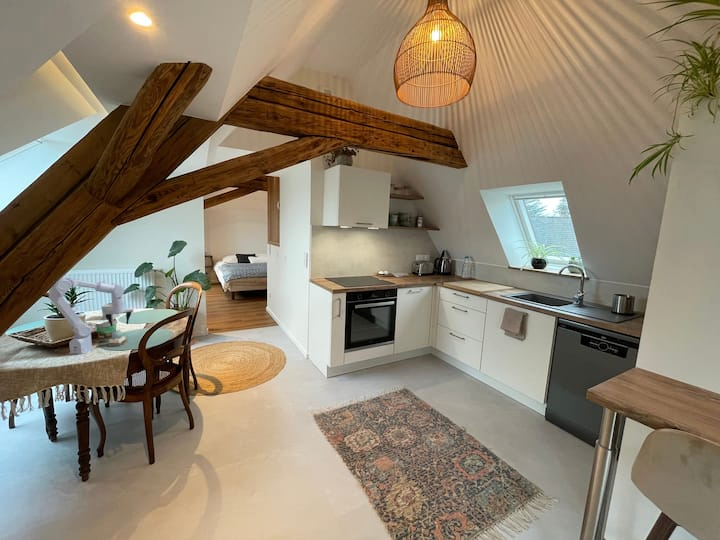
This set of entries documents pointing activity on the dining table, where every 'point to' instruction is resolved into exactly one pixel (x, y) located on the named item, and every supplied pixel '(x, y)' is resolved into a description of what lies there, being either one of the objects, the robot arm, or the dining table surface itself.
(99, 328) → the food container
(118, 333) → the cylinder
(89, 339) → the robot arm
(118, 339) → the top block
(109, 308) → the light bulb box
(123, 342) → the base slab
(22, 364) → the dining table surface
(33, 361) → the dining table surface
